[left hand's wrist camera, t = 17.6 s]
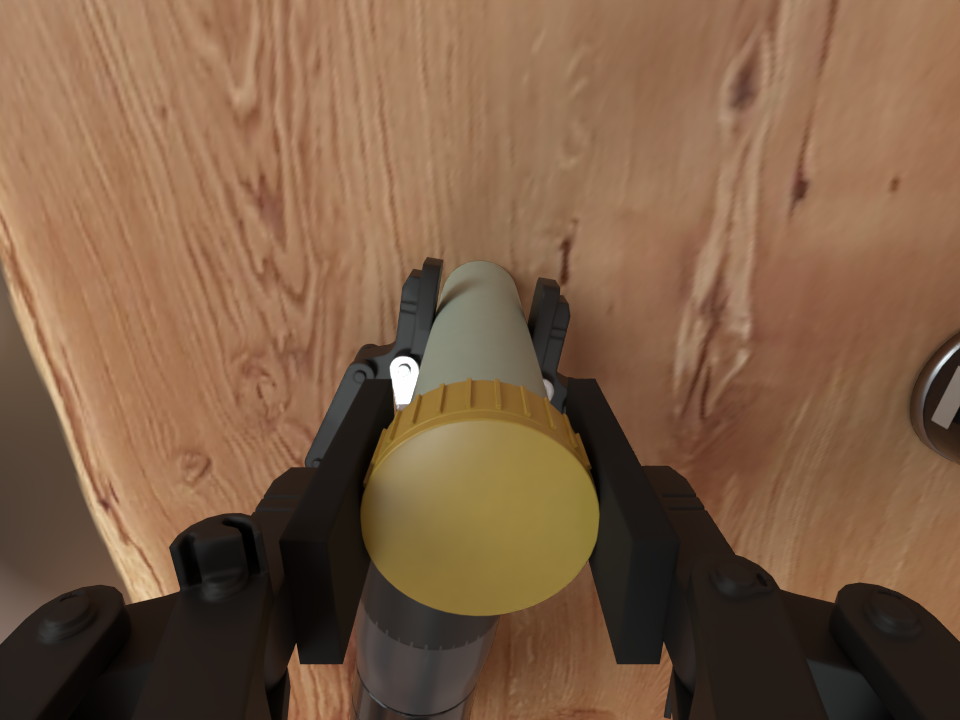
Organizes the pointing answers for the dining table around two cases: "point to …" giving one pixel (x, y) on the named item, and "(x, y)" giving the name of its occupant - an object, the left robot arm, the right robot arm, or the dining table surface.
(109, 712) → the left robot arm
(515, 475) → the lid
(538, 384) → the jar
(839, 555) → the dining table surface
